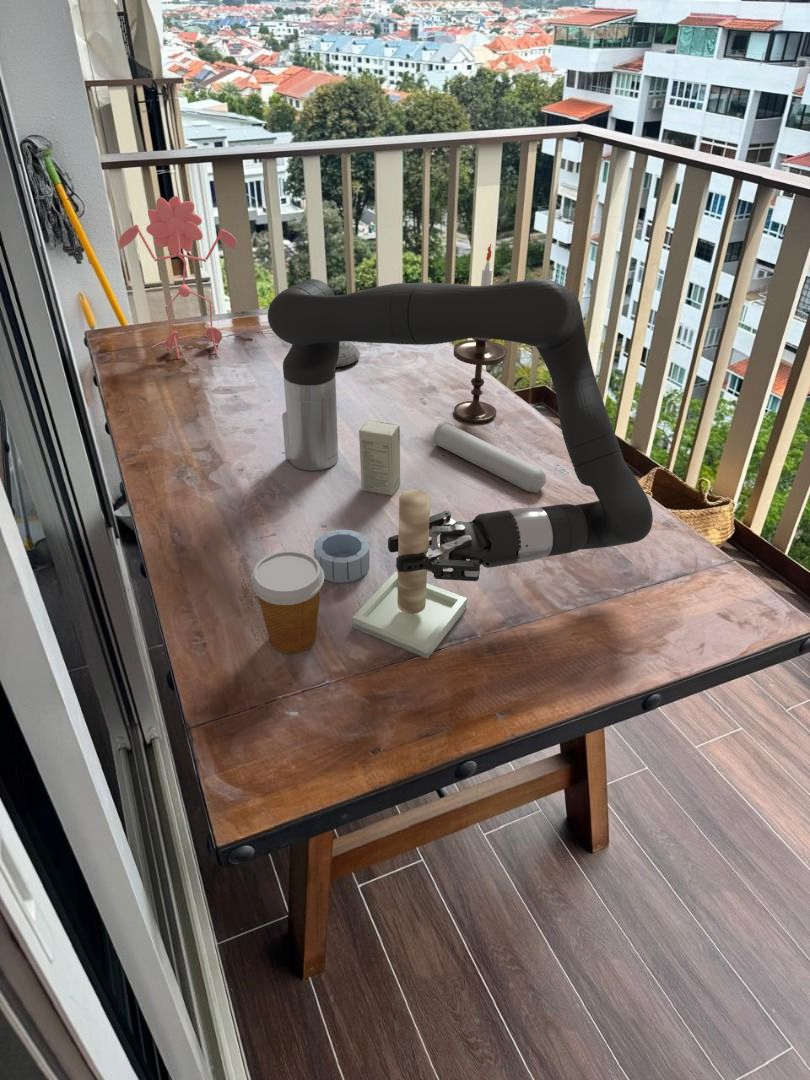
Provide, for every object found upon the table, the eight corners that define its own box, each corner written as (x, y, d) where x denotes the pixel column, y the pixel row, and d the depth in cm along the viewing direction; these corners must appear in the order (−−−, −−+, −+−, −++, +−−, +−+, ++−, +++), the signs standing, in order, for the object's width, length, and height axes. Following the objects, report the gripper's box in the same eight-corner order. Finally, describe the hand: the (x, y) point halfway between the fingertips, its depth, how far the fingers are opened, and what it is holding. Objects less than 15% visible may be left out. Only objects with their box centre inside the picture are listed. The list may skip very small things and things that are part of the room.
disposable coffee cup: (260, 616, 108) (252, 549, 101) (327, 613, 109) (324, 547, 102) (255, 664, 100) (246, 595, 93) (327, 661, 101) (324, 592, 94)
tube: (555, 469, 136) (453, 420, 150) (539, 471, 132) (436, 420, 146) (545, 496, 138) (446, 445, 152) (529, 499, 134) (429, 446, 148)
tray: (352, 627, 107) (352, 617, 105) (395, 581, 115) (395, 571, 114) (427, 658, 102) (428, 648, 101) (466, 608, 110) (467, 598, 109)
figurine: (251, 350, 187) (234, 198, 167) (144, 365, 178) (113, 206, 158) (237, 330, 198) (220, 186, 178) (135, 343, 190) (105, 193, 170)
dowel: (392, 607, 106) (393, 500, 96) (406, 591, 109) (408, 486, 99) (416, 617, 105) (421, 509, 94) (430, 601, 108) (435, 495, 97)
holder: (304, 571, 116) (303, 551, 114) (335, 544, 122) (334, 524, 120) (350, 590, 113) (349, 569, 111) (379, 560, 119) (379, 540, 117)
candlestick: (463, 398, 168) (476, 234, 147) (508, 410, 163) (527, 242, 143) (440, 417, 160) (450, 246, 139) (486, 430, 156) (503, 256, 135)
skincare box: (400, 484, 138) (402, 424, 131) (392, 496, 134) (393, 436, 127) (368, 478, 139) (367, 418, 132) (359, 489, 136) (358, 429, 129)
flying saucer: (326, 343, 193) (325, 322, 189) (372, 358, 186) (372, 336, 182) (285, 361, 183) (284, 339, 179) (332, 377, 176) (332, 355, 172)
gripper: (496, 487, 108) (379, 502, 104) (536, 544, 97) (407, 564, 93) (491, 529, 112) (379, 546, 109) (529, 589, 101) (406, 610, 98)
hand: (393, 554), depth 101 cm, fingers closed on dowel, 4 cm apart
